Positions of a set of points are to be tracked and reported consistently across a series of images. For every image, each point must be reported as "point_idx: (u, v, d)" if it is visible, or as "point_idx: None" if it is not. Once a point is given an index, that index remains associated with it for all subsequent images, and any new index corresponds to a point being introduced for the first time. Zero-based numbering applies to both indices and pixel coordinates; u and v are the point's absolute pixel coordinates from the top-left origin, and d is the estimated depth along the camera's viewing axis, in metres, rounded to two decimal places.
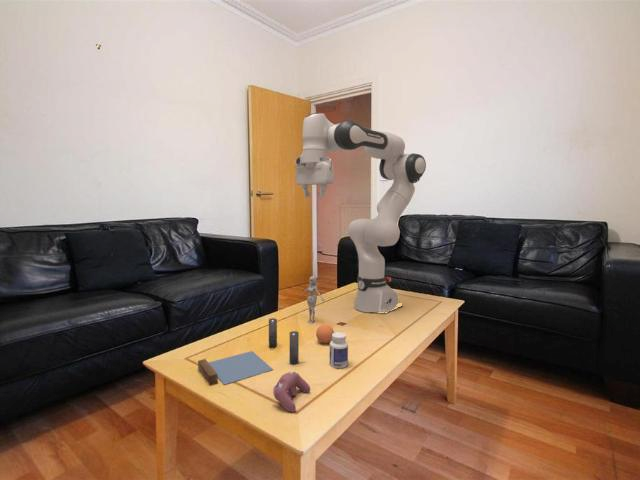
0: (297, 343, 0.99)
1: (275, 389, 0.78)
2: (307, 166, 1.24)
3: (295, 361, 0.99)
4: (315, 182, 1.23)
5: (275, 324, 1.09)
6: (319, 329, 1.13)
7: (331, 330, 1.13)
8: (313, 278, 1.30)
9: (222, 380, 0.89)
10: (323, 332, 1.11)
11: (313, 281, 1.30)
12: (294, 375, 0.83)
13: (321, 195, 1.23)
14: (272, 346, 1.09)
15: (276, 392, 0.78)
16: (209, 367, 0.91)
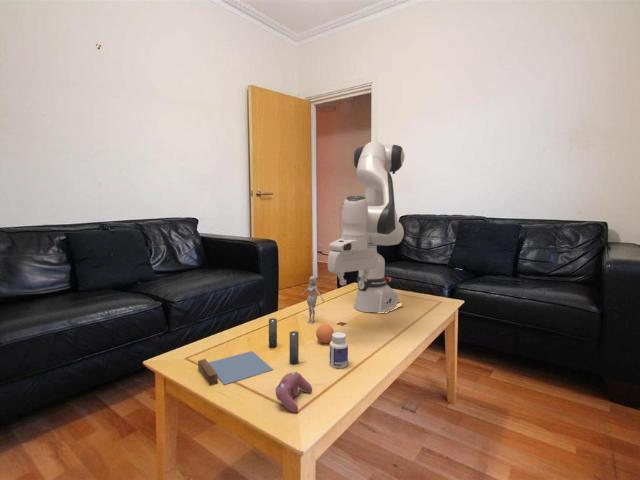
0: (297, 343, 0.99)
1: (277, 389, 0.78)
2: (360, 253, 1.15)
3: (295, 361, 0.99)
4: (364, 268, 1.19)
5: (275, 324, 1.09)
6: (319, 329, 1.13)
7: (331, 330, 1.13)
8: (313, 278, 1.30)
9: (222, 380, 0.89)
10: (323, 332, 1.11)
11: (313, 281, 1.30)
12: (296, 375, 0.83)
13: None
14: (272, 346, 1.09)
15: (278, 392, 0.78)
16: (209, 367, 0.91)
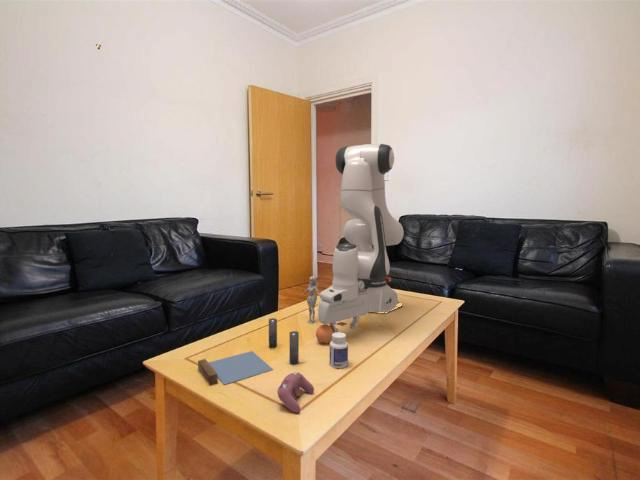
0: (297, 343, 0.99)
1: (279, 390, 0.78)
2: (351, 302, 1.15)
3: (295, 361, 0.99)
4: (355, 315, 1.18)
5: (275, 324, 1.09)
6: (319, 330, 1.13)
7: (331, 330, 1.12)
8: (313, 278, 1.30)
9: (222, 380, 0.89)
10: (322, 332, 1.11)
11: (313, 281, 1.30)
12: (298, 376, 0.83)
13: None
14: (272, 346, 1.09)
15: (280, 393, 0.77)
16: (209, 367, 0.91)
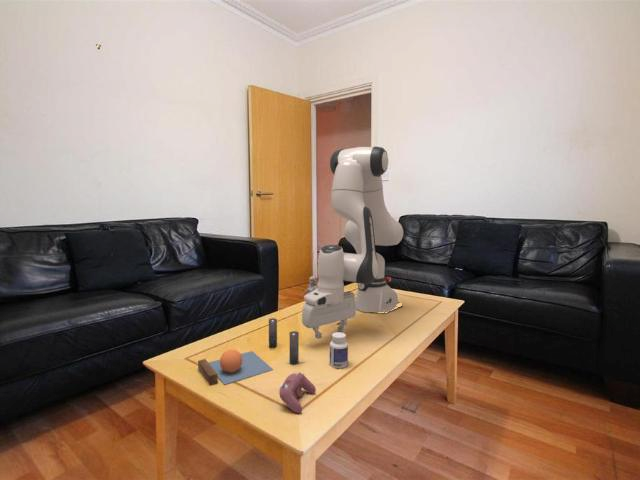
0: (297, 343, 0.99)
1: (281, 390, 0.78)
2: (336, 305, 1.12)
3: (295, 361, 0.99)
4: (341, 319, 1.15)
5: (275, 324, 1.09)
6: (237, 351, 0.95)
7: (239, 366, 0.93)
8: (313, 278, 1.30)
9: (222, 380, 0.89)
10: (238, 355, 0.93)
11: (313, 281, 1.30)
12: (300, 376, 0.83)
13: None
14: (272, 346, 1.09)
15: (282, 393, 0.77)
16: (209, 367, 0.91)
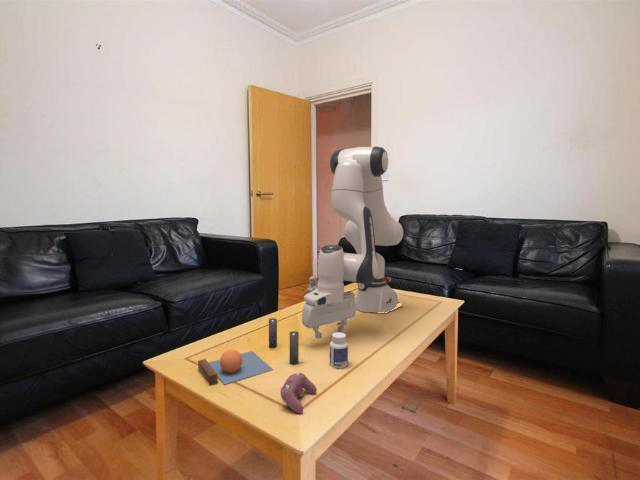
0: (297, 343, 0.99)
1: (282, 390, 0.78)
2: (336, 305, 1.12)
3: (295, 361, 0.99)
4: (341, 319, 1.15)
5: (275, 324, 1.09)
6: (237, 351, 0.95)
7: (239, 366, 0.93)
8: (313, 278, 1.30)
9: (222, 380, 0.89)
10: (238, 355, 0.93)
11: (313, 281, 1.30)
12: (301, 376, 0.83)
13: None
14: (272, 346, 1.09)
15: (283, 393, 0.77)
16: (209, 367, 0.91)
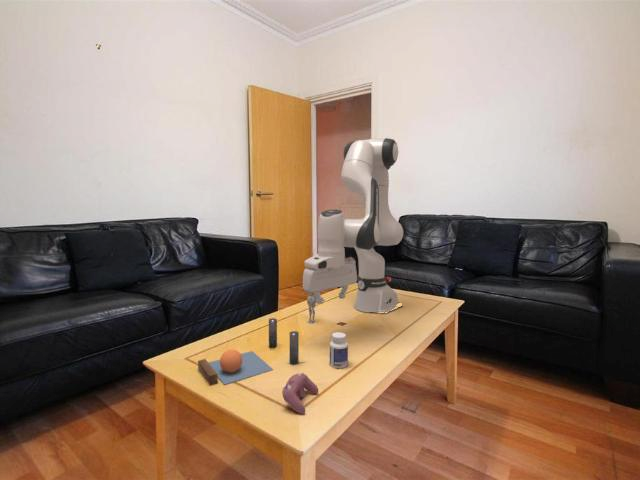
0: (297, 343, 0.99)
1: (284, 391, 0.78)
2: (337, 270, 1.10)
3: (295, 361, 0.99)
4: (342, 285, 1.14)
5: (275, 324, 1.09)
6: (237, 351, 0.95)
7: (239, 366, 0.93)
8: None
9: (222, 380, 0.89)
10: (238, 355, 0.93)
11: None
12: (302, 376, 0.83)
13: None
14: (272, 346, 1.09)
15: (285, 394, 0.77)
16: (209, 367, 0.91)
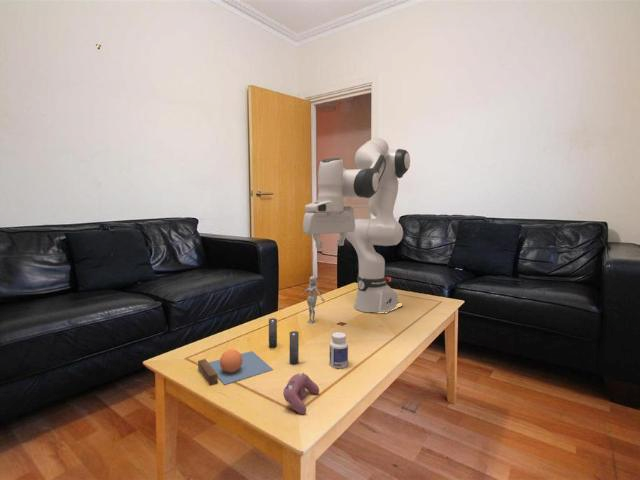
0: (297, 343, 0.99)
1: (285, 391, 0.78)
2: (336, 215, 1.15)
3: (295, 361, 0.99)
4: (341, 231, 1.19)
5: (275, 324, 1.09)
6: (237, 351, 0.95)
7: (239, 366, 0.93)
8: (313, 278, 1.30)
9: (222, 380, 0.89)
10: (238, 355, 0.93)
11: (313, 281, 1.30)
12: (303, 376, 0.83)
13: None
14: (272, 346, 1.09)
15: (286, 394, 0.77)
16: (209, 367, 0.91)
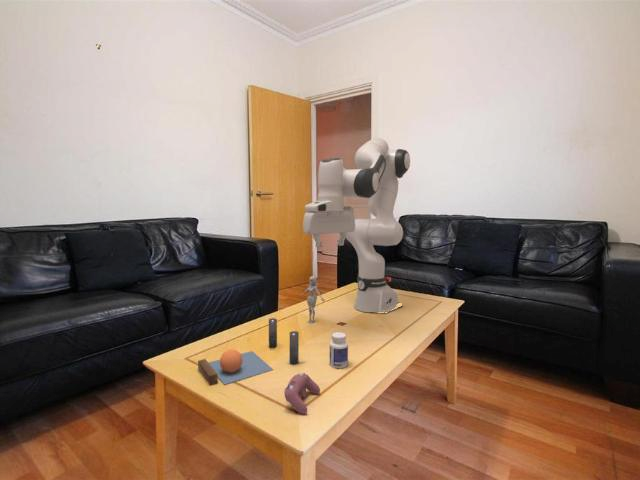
0: (297, 343, 0.99)
1: (286, 391, 0.77)
2: (336, 214, 1.15)
3: (295, 361, 0.99)
4: (341, 231, 1.19)
5: (275, 324, 1.09)
6: (237, 351, 0.95)
7: (239, 366, 0.93)
8: (313, 278, 1.30)
9: (222, 380, 0.89)
10: (238, 355, 0.93)
11: (313, 281, 1.30)
12: (304, 377, 0.82)
13: None
14: (272, 346, 1.09)
15: (287, 394, 0.77)
16: (209, 367, 0.91)
